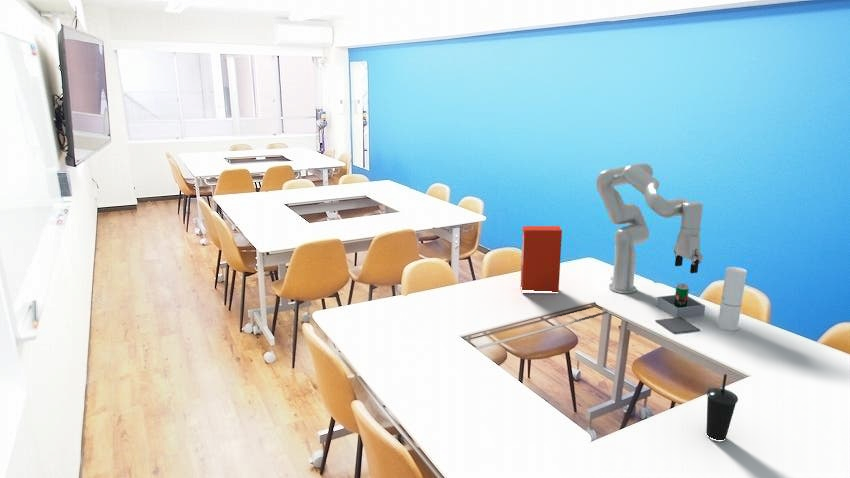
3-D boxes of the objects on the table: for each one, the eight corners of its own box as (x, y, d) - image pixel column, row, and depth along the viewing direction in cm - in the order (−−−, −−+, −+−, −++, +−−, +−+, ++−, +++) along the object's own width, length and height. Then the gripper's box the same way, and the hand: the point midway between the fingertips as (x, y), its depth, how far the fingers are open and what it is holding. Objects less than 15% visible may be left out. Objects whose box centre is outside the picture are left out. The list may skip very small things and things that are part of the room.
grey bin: (656, 306, 239) (657, 296, 238) (682, 303, 241) (684, 293, 240) (676, 318, 226) (677, 308, 225) (703, 315, 229) (705, 305, 227)
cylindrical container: (732, 323, 221) (741, 266, 213) (740, 331, 214) (750, 273, 207) (714, 323, 221) (723, 266, 214) (722, 330, 214) (731, 272, 207)
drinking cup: (695, 429, 155) (704, 368, 149) (720, 427, 155) (729, 367, 150) (710, 446, 147) (720, 383, 142) (737, 444, 148) (747, 381, 142)
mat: (655, 321, 224) (655, 320, 224) (680, 318, 226) (680, 317, 226) (673, 333, 213) (673, 332, 212) (699, 330, 215) (700, 329, 215)
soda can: (685, 309, 235) (688, 283, 232) (686, 313, 231) (690, 287, 227) (672, 307, 237) (675, 282, 233) (674, 312, 232) (677, 286, 229)
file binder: (558, 294, 254) (562, 230, 245) (522, 294, 256) (524, 230, 246) (555, 288, 262) (559, 225, 253) (520, 287, 263) (522, 225, 254)
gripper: (668, 226, 231) (665, 264, 235) (696, 236, 214) (692, 276, 219) (684, 225, 232) (680, 262, 237) (712, 235, 216) (707, 274, 220)
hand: (685, 269), depth 228 cm, fingers open, 9 cm apart
